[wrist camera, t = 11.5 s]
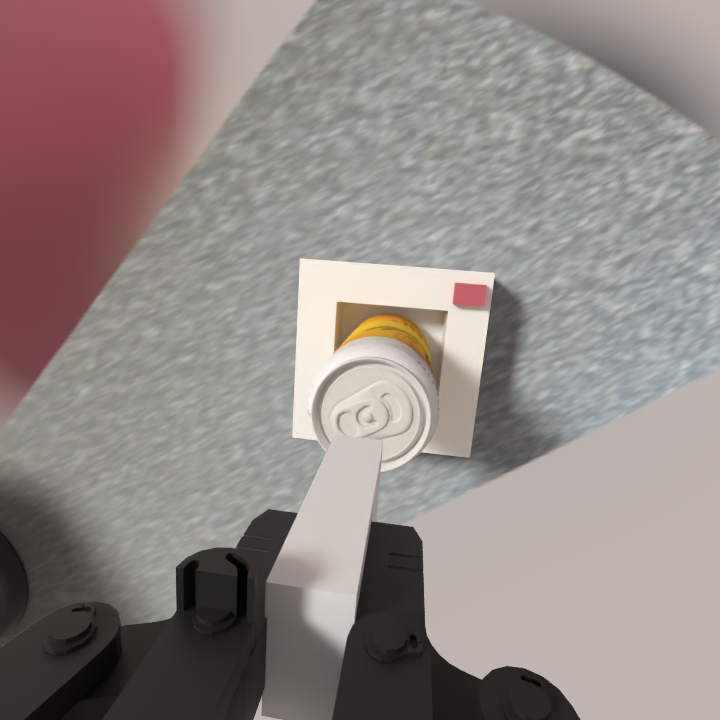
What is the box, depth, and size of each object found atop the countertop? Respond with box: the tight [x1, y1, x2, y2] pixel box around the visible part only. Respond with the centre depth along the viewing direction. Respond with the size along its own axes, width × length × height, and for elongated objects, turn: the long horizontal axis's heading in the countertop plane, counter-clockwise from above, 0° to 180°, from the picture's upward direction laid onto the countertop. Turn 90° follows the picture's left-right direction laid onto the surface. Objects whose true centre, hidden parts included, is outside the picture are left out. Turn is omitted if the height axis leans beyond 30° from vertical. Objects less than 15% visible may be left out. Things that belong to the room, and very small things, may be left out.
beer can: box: [308, 314, 439, 472], centre depth 27 cm, size 6×6×15 cm
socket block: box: [292, 259, 495, 458], centre depth 32 cm, size 13×13×4 cm
